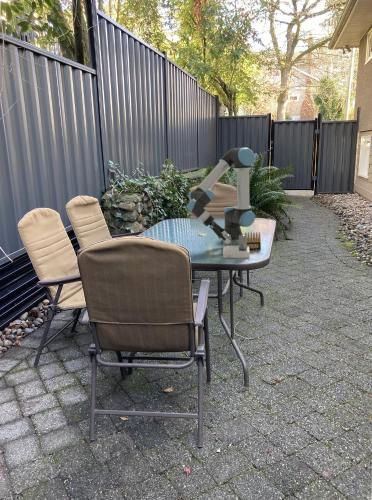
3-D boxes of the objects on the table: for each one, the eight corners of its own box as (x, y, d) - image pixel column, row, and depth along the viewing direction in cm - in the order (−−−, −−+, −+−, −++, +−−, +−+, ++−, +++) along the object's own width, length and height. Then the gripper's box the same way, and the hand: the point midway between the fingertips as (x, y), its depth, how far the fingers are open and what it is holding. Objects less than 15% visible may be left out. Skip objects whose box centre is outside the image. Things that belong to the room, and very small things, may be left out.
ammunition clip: (260, 249, 253) (260, 231, 250) (260, 249, 251) (261, 231, 248) (244, 249, 253) (244, 231, 250) (244, 250, 251) (244, 232, 248)
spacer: (223, 247, 261) (223, 234, 259) (231, 247, 260) (231, 234, 258) (223, 249, 256) (223, 235, 254) (231, 249, 255) (230, 235, 253)
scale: (223, 251, 251) (223, 245, 250) (248, 251, 248) (248, 245, 247) (222, 258, 235) (222, 251, 234) (249, 258, 232) (249, 251, 231)
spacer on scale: (238, 248, 239) (238, 234, 237) (246, 248, 239) (246, 234, 236) (238, 250, 234) (238, 236, 232) (247, 250, 234) (247, 236, 232)
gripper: (204, 219, 268) (226, 240, 269) (200, 226, 244) (224, 249, 245) (211, 211, 266) (233, 233, 267) (208, 217, 242) (233, 241, 243)
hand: (229, 240), depth 256 cm, fingers open, 13 cm apart
